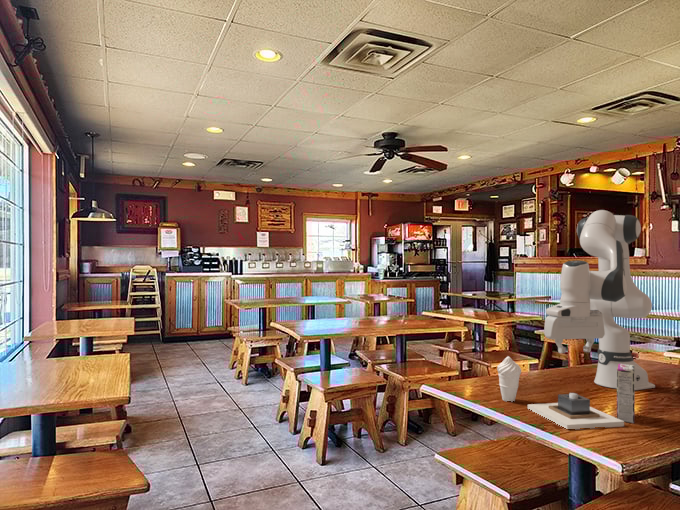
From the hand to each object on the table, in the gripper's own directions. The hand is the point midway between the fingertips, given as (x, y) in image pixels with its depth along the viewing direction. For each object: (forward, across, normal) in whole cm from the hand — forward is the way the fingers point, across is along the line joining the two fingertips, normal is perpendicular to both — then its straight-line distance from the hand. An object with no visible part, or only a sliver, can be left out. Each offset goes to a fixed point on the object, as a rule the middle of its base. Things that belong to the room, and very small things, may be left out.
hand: (574, 352), depth 154 cm
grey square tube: (+19, +1, +1) cm, 19 cm away
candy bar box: (+21, -16, +4) cm, 27 cm away
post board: (+21, +1, +1) cm, 21 cm away
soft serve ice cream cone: (+21, +12, -19) cm, 31 cm away
